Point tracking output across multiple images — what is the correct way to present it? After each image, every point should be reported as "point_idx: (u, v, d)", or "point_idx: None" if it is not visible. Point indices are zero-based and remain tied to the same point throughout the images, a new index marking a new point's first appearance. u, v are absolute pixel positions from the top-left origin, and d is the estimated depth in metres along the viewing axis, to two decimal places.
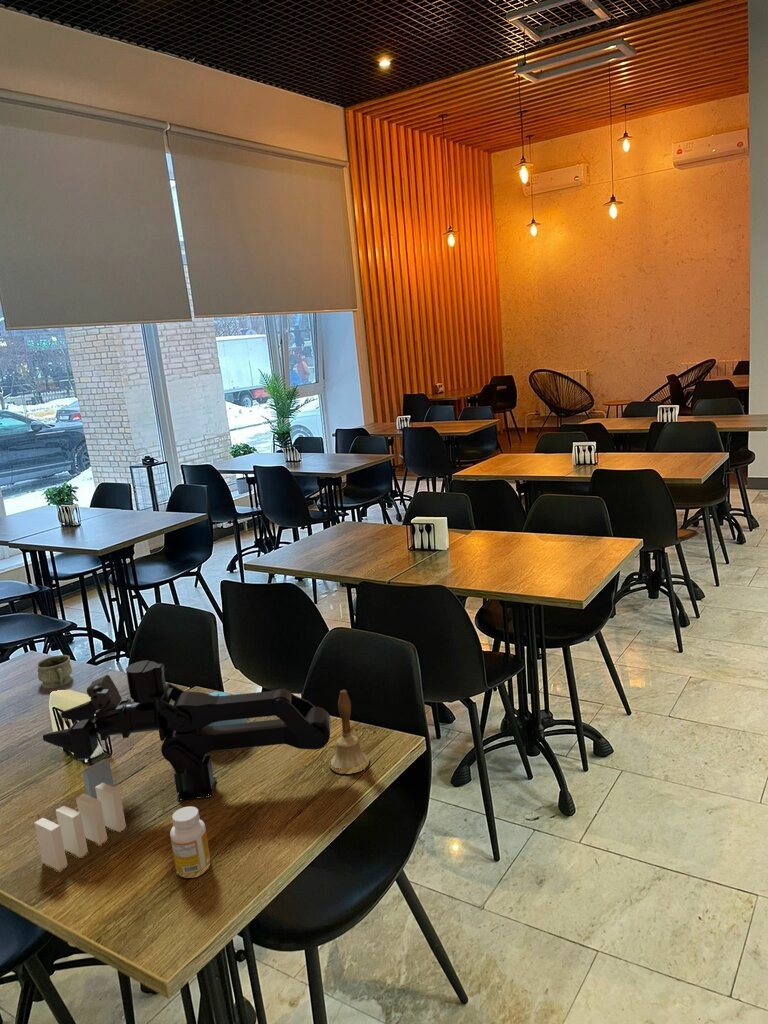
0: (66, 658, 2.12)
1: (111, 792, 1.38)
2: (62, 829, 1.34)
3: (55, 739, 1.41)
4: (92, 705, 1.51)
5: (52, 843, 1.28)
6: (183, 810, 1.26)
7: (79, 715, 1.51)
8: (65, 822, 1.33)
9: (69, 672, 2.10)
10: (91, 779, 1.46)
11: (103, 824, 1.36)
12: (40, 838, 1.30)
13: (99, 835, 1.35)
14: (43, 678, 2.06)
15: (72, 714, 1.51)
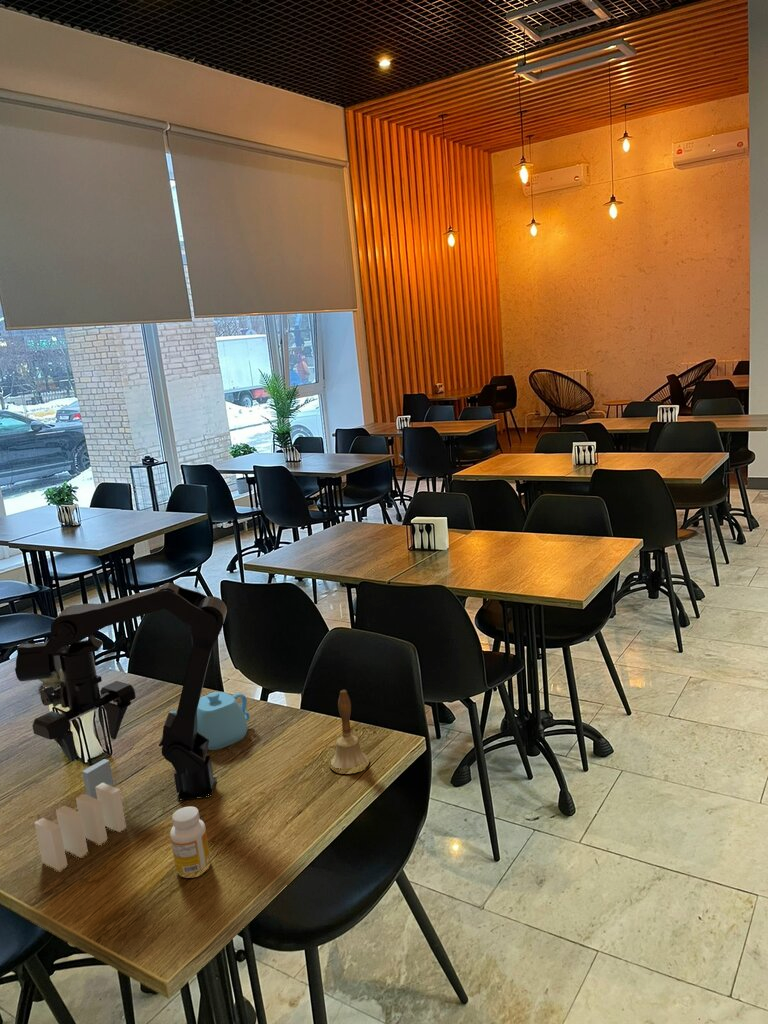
0: None
1: (111, 792, 1.38)
2: (62, 829, 1.34)
3: (65, 751, 1.42)
4: (106, 708, 1.50)
5: (52, 843, 1.28)
6: (183, 810, 1.26)
7: (112, 723, 1.50)
8: (65, 822, 1.33)
9: None
10: (91, 779, 1.46)
11: (103, 824, 1.36)
12: (40, 838, 1.30)
13: (99, 835, 1.35)
14: None
15: (111, 729, 1.50)
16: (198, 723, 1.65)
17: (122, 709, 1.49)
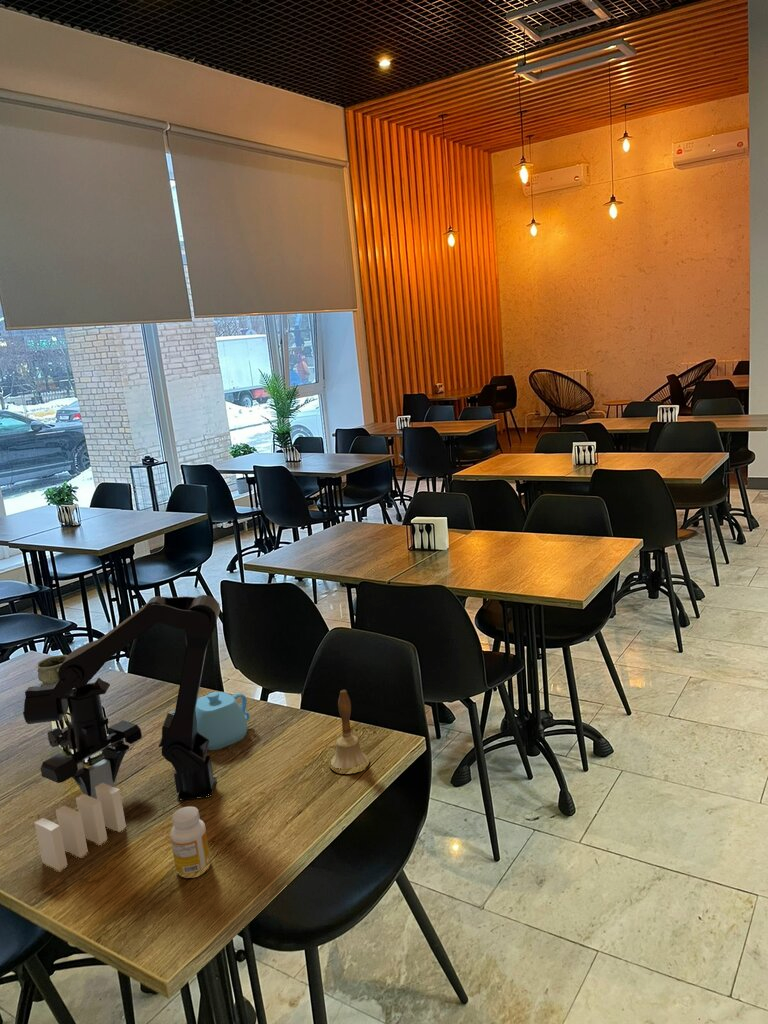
0: None
1: (111, 792, 1.38)
2: (62, 829, 1.34)
3: (82, 787, 1.45)
4: (105, 752, 1.50)
5: (52, 843, 1.28)
6: (183, 810, 1.26)
7: (111, 767, 1.50)
8: (65, 822, 1.33)
9: None
10: (91, 779, 1.46)
11: (103, 824, 1.36)
12: (40, 838, 1.30)
13: (99, 835, 1.35)
14: (43, 678, 2.06)
15: None
16: (198, 724, 1.65)
17: (121, 754, 1.49)
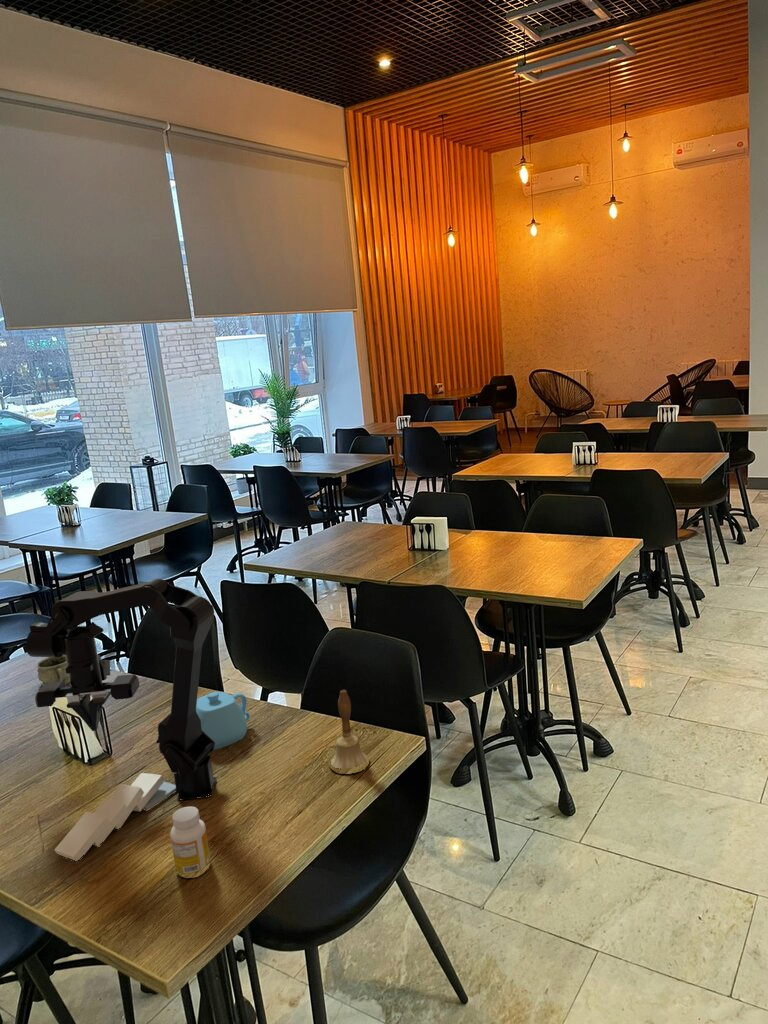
0: None
1: (160, 775, 1.51)
2: (97, 814, 1.40)
3: None
4: None
5: (94, 829, 1.35)
6: (183, 810, 1.26)
7: None
8: (109, 808, 1.40)
9: None
10: None
11: (129, 812, 1.42)
12: (80, 825, 1.37)
13: None
14: (43, 678, 2.06)
15: None
16: None
17: (92, 706, 1.50)
